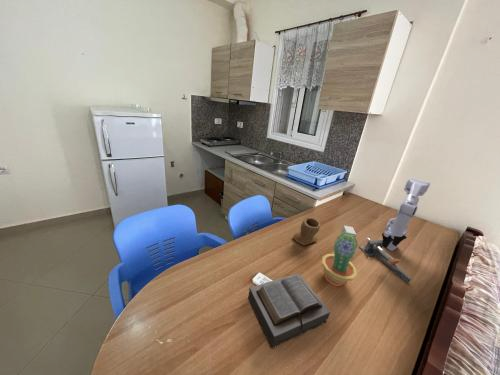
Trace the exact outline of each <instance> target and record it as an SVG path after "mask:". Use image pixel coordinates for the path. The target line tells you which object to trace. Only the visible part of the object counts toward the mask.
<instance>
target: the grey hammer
mask: <svg viewBox="0 0 500 375" xmlns="http://www.w3.org/2000/svg"><path fill="white" fill-rule="evenodd" d="M382 240H383V239H380V240H372V241H368V242H366V245H361V246H359V247H358V248H359V250H361V251H362V252H363V253H364V254H365V255H366V256H367V257H369V258H372V257H377V258H378V260H380V261H381V262H382V263H383V264H385V266H387V268H389V269H390V270H391V271H392V272H393V273H395V275H396V276H398V277H399V278H400V280H403V282H404V283H406V284H409V283H410V282H411V281H412V277H411V276H409V275H408V274H407V273H406V272H405V271H404V270H403V269H402V268H400V267H399V266H398V264H389V263H388V262H387V261H388V259H387V258H386V257H384V256H383V255H382V254H381V253H380V252H379V251H377V250H376V249H375V248H374V245H376V244H377V245H378V246H379V247H380V248H382V249H383V248H384V247H383V246H382V243H383V241H382Z"/></svg>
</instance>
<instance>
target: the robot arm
mask: <svg viewBox="0 0 500 375" xmlns="http://www.w3.org/2000/svg"><path fill="white" fill-rule="evenodd" d="M430 186H431V183H430V181H426V180H421V179H417V178H415V177H413V176H410V177H408V179H407V181H406V182H405V185H404V188H403V189H404V192H405V193H406V195H405V197H404V199H403V201H402V202H401V203H400V205H399V208H398V210H397V213H396V216H395V217H394V218H390V219H388V222H387V223H386V226H385V228H384V232H382V233H381V237H382V239H381V240H382V241H383V243H382V246H383V247H382V248H385V249H387V250H389V251H390V252H393V251H395V250H396V249H397V248H398V247H399V245H400V243H401V242H402V241H404V240H406V239H407V238H408V237H407V236H406V235H407V234H408V228H409V224H410V221H411V219H412V218H413V217H414V216H415V215H416V212H417V211H418V207H419V206H418V203H419V201H420V198H419V197H422V196H424V195H425V194H426V192H427V191H428V189H429V188H430Z"/></svg>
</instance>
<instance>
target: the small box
mask: <svg viewBox="0 0 500 375" xmlns="http://www.w3.org/2000/svg"><path fill="white" fill-rule="evenodd" d="M345 232H346V233H348V234H349V233H351V234H352V235H354V236H355V238H356V237H357V233H356V230H355V229H354V227H353V226H349V225H342V229H341V231H340V234H339V236H340V235H341V234H343V233H345Z"/></svg>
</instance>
